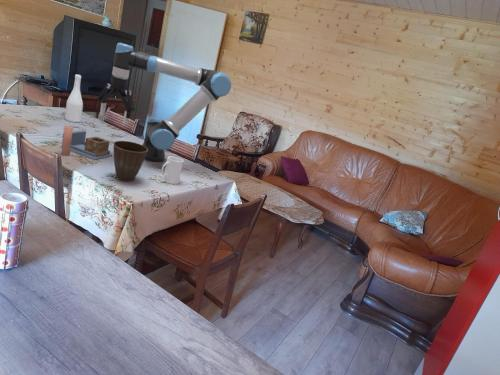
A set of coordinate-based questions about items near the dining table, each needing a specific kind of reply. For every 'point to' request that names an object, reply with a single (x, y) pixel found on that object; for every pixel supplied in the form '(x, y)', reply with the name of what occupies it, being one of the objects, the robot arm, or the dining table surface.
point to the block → (97, 146)
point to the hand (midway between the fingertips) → (113, 119)
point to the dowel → (67, 140)
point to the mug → (172, 170)
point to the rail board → (83, 146)
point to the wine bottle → (74, 103)
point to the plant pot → (128, 159)
